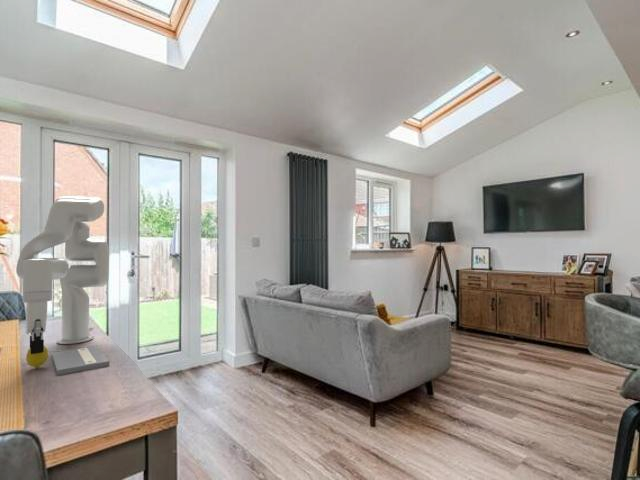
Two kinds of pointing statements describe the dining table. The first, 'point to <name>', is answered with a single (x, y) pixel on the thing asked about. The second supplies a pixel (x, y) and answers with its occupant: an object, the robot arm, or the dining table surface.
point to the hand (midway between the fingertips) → (36, 350)
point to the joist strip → (86, 356)
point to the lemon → (37, 358)
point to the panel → (77, 360)
